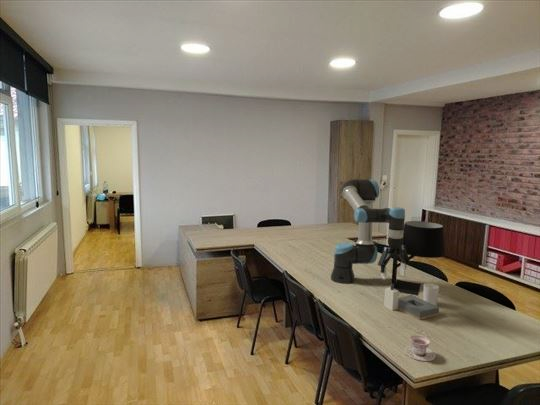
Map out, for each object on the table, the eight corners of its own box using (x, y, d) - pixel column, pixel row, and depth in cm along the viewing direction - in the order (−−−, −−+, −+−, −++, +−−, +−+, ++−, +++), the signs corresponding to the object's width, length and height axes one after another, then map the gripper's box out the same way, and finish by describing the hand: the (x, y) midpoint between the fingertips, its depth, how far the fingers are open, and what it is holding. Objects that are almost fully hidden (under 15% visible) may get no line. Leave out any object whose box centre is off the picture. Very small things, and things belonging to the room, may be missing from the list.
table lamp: (395, 278, 243) (399, 218, 237) (442, 286, 230) (447, 223, 225) (389, 291, 220) (393, 225, 214) (441, 300, 208) (447, 230, 202)
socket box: (392, 306, 199) (392, 298, 198) (410, 301, 205) (411, 294, 204) (419, 319, 183) (420, 312, 182) (438, 314, 189) (439, 307, 189)
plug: (383, 306, 199) (385, 282, 197) (389, 304, 200) (390, 281, 199) (392, 310, 193) (393, 286, 192) (397, 309, 195) (399, 285, 193)
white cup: (424, 299, 209) (426, 282, 208) (439, 303, 204) (441, 285, 203) (420, 303, 203) (421, 286, 201) (435, 307, 198) (436, 289, 197)
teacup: (403, 344, 159) (404, 330, 159) (433, 349, 156) (434, 335, 155) (404, 359, 148) (405, 344, 147) (437, 364, 145) (438, 349, 144)
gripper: (382, 241, 183) (380, 282, 185) (418, 236, 194) (415, 275, 197) (372, 237, 189) (369, 277, 192) (407, 233, 201) (404, 271, 203)
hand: (393, 276), depth 194 cm, fingers open, 13 cm apart
